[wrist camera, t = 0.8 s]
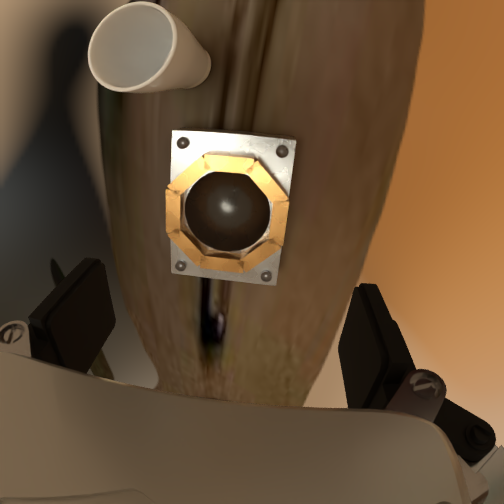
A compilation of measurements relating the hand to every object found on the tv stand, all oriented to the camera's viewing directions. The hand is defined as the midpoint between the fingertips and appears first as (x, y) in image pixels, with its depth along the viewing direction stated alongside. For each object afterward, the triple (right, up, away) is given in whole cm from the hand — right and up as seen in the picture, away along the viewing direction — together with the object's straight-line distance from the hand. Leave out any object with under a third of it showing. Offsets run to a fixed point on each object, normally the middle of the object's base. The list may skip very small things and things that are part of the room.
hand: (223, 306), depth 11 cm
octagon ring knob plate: (-1, +8, +25) cm, 26 cm away
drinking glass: (-6, +22, +18) cm, 29 cm away
